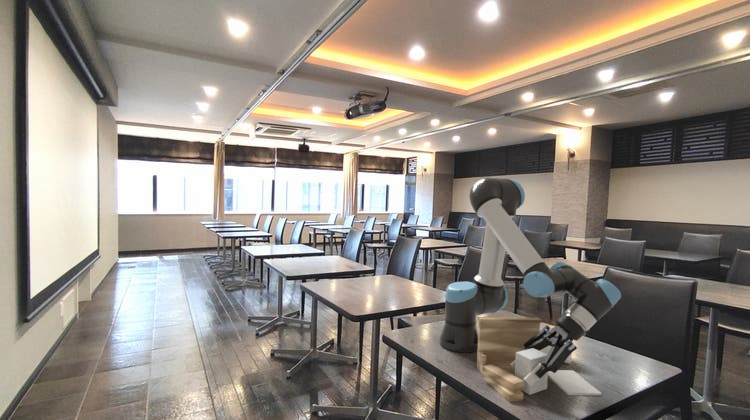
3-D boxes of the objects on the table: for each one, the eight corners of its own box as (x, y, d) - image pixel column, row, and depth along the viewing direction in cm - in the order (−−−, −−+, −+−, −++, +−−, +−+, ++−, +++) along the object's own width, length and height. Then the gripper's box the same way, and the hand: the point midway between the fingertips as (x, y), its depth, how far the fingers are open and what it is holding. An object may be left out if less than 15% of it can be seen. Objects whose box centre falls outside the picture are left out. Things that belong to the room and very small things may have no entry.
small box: (531, 380, 112) (533, 347, 112) (547, 389, 107) (549, 354, 107) (513, 386, 109) (514, 351, 108) (529, 395, 104) (530, 359, 103)
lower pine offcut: (482, 379, 114) (482, 371, 114) (494, 377, 115) (495, 370, 115) (508, 403, 100) (509, 394, 100) (523, 401, 101) (523, 393, 101)
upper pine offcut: (482, 374, 112) (482, 366, 112) (491, 371, 114) (491, 363, 114) (514, 392, 101) (514, 384, 101) (523, 389, 103) (524, 381, 103)
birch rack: (476, 367, 120) (477, 316, 120) (536, 367, 121) (538, 317, 121) (480, 374, 116) (482, 321, 115) (543, 374, 117) (545, 322, 116)
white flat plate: (543, 372, 118) (543, 370, 118) (572, 372, 119) (572, 370, 119) (567, 395, 104) (567, 393, 104) (601, 395, 105) (601, 393, 105)
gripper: (607, 345, 98) (546, 403, 97) (563, 319, 119) (513, 367, 118) (589, 325, 97) (528, 384, 97) (548, 303, 118) (498, 351, 118)
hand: (520, 375), depth 108 cm, fingers closed on small box, 8 cm apart
